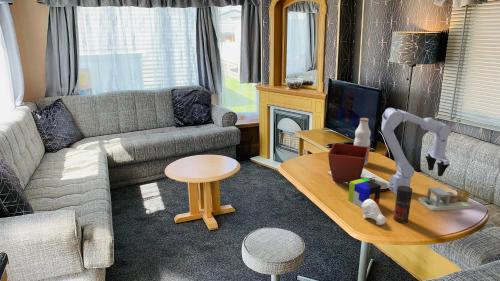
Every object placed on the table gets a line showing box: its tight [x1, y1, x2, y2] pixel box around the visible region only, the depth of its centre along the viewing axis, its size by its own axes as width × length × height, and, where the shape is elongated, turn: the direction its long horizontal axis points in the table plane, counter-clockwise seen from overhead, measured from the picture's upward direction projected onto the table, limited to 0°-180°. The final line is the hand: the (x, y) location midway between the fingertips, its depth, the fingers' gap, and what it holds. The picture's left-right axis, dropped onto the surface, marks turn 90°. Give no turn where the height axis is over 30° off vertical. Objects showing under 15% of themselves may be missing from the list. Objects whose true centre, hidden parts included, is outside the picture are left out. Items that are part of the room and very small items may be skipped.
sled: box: [440, 188, 471, 203], centre depth 177 cm, size 12×4×5 cm, turn 99°
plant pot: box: [327, 143, 368, 184], centre depth 203 cm, size 19×19×17 cm
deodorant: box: [393, 186, 413, 224], centre depth 161 cm, size 6×6×15 cm
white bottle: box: [353, 117, 372, 166], centre depth 224 cm, size 9×9×28 cm
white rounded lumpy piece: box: [360, 199, 387, 226], centre depth 161 cm, size 6×8×12 cm
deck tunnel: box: [417, 186, 474, 212], centre depth 176 cm, size 21×11×7 cm, turn 99°
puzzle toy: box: [347, 177, 382, 209], centre depth 177 cm, size 10×10×10 cm
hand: (435, 172), depth 187 cm, fingers open, 7 cm apart
